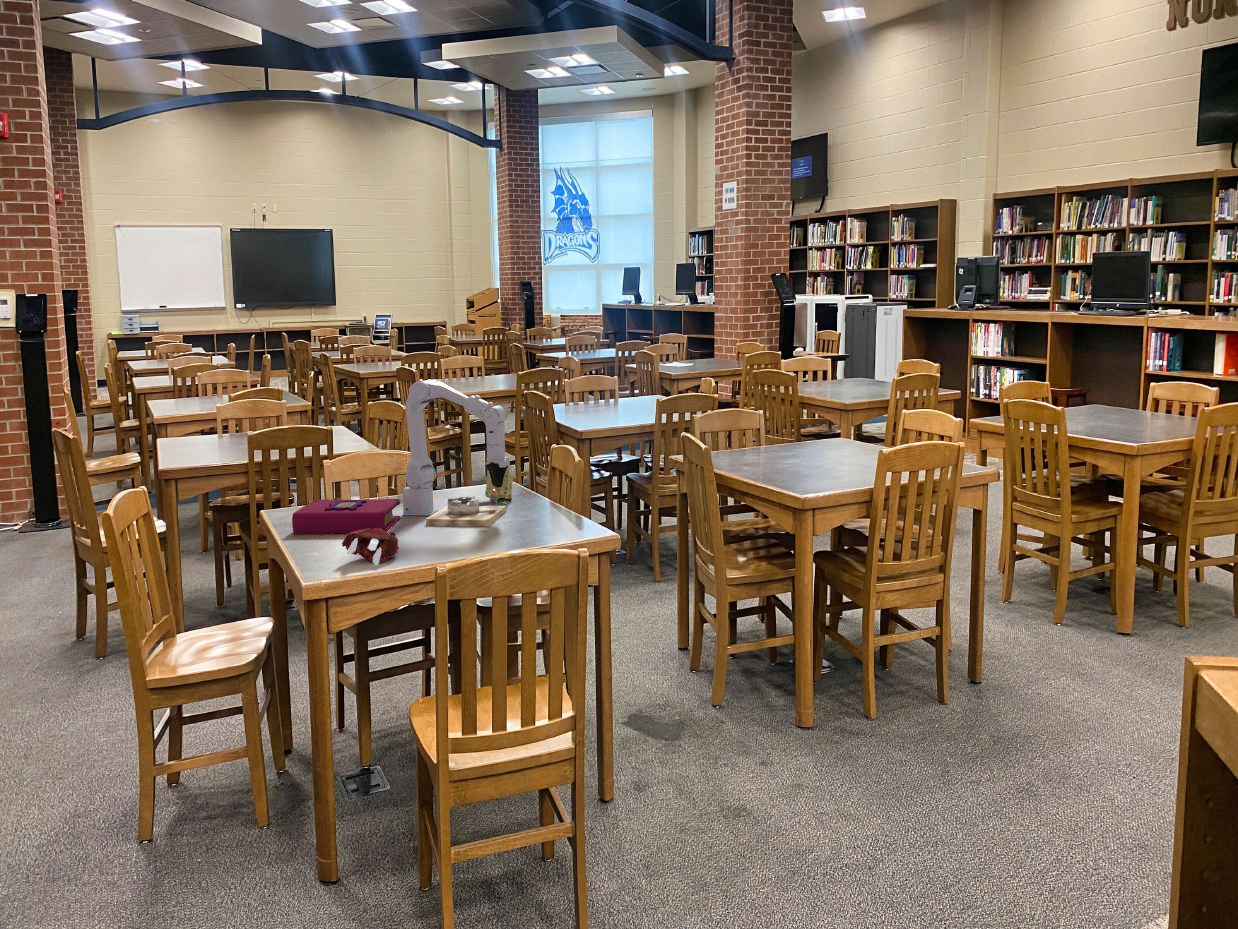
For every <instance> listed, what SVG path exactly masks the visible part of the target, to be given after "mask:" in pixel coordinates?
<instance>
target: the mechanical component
mask: <svg viewBox="0 0 1238 929" xmlns="http://www.w3.org/2000/svg"><path fill="white" fill-rule="evenodd" d="M490 463H491V462H488V461H487V460H486V462H485V465H486V464H490ZM510 463H511V461H510V459H509V460H506V465H507V466H508V468H507V470H506V472H505V475H504V479H503V485H502V487H498V488H496V487H495V486H493V485H492V481H491V477H490V474H489V471H488V469H487V468H486V484H485V485H486V487H485V493H484V496H485V497H486V498H487V499H488V498H489V499H490V500H491V496H490V491H491V490H492V489H495V490H497V492H498V495H497V500H499V499H507V500H513V492H512V491H513V483H514V477H513V476H511V475H510V468H511V467H510V466H511V464H510ZM491 506H495V505H491Z"/></svg>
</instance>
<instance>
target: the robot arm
mask: <svg viewBox="0 0 1238 929" xmlns="http://www.w3.org/2000/svg"><path fill="white" fill-rule="evenodd" d="M437 398H443V399H445V400H448V401H451V402H453V403H454V404H457V405H460V406H462V407H463V408H464V411H465V412H466V413H468V414H470V415H472V416H474V417H477V418H478V419H480V420H482V421H483V423H484V424H485V429H486V430H485V433H486V462H487V461H488V462H491V463H490V464H486V463H485V467H486V470H487V469H488V471H489V474H490V477H491V481H492V485H493V486H495V487H496V488H498V487H502V485H503V479H504V475H505V472H506V470H508V466H507V465H506V460H509V461H510V457H509V456H506V440H505V439H506V436H505V434H506V433H505V421H506V420H507V418H508V412H507V410H506V408H505V407H503V406H502V405H501V404H497V405H494V402H492V401H489V402H488V401H486V400H484V399H482V398H481V395H478V394H475V395H470V396H468V395H465V394H464V393H462V392H461V391H459V390H456V389H454V388H453V387H451V386H449V385H447V384H446V383H444V382H443V381H439V380H437V379H435V378H431V379H428V380H418V381H416V382H414V383H413V384H411V386H410V387H409V388H408V396H407V398H406V401H405V414H406V423H407V434H408V443H409V444H408V445H409V453H410V459H409V461H408V463H407V465H406V473H405V477H404V478H405V482H406V484H407V485H408V486H405V487H404V488H403V491H402V509H403V510H402V512H403V513H402V516H426V517H427V516H428V517H429V516H431V515H433V514H434V513H436V512H437V511H439V509H437V508H434V490H433V485H434V483H433V482H434V481H435V479H436V476H437V471H436V469H435V468H434V465H433V461H432V459H431V458H430V457H429V454H428V446H427V445H428V444H427V443H428V442H427V436H426V435H427V433H426V424H425V415H424V414H425V413H424V409H425V408H426V407H427V406H428V404H429V403H431V402H433V401H434V400H436V399H437Z"/></svg>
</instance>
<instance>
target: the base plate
mask: <svg viewBox="0 0 1238 929" xmlns="http://www.w3.org/2000/svg"><path fill="white" fill-rule="evenodd" d="M506 508H507V507H506V505H494V506H492V505H489V506H479V510H480V511H479V512H478V513H476V514H471V515H451V514H448V504H446V505H444V506H443V507H441V508H440V509H438V511H436V512H435V513H433V514H432V515H430V516H428V517H426V518H425V525H426V526H438V525H450V526H449V527H451V526H452V527H453V526H454V527H489V526H490V525H492V524H493V523H494V522H496V521H497V520H498V519H499V518H500V517H502V516H501V515H504V514H505V513H506V512H507V509H506Z"/></svg>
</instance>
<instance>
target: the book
mask: <svg viewBox="0 0 1238 929" xmlns="http://www.w3.org/2000/svg"><path fill="white" fill-rule="evenodd" d="M399 505H401V500H400V498H387V499H385V498H384V499H382V498H381V499H378V498H377V499H370V498H369V499H364V498H363V499H362V498H361V499H328V498H327V499H313V500H311V501H309V503H307V504H305V505H304V506H302V507H301V508H299V509H297V510H296V511H294V512H293V513H292V516H291V523H292V526H291V527H292V533H293V535H331V534H330V533H351V532H353V531H358V530H362V529H367V528H370V529H371V528H375V529H378V528H381V529H382V530H384V531H385V532H387V531H388V530H389V529H390V530H391V529H392V528H393V527H395V525H396V524H397V523H398V522H400V521H401V520H400V519H402V516H401V515H394V514H393V510H394V509H395V508H396V507H398V506H399ZM399 520H400V521H399ZM391 527H392V528H391ZM390 530H389V531H390ZM389 531H388V532H389ZM388 532H387V533H388Z"/></svg>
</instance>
